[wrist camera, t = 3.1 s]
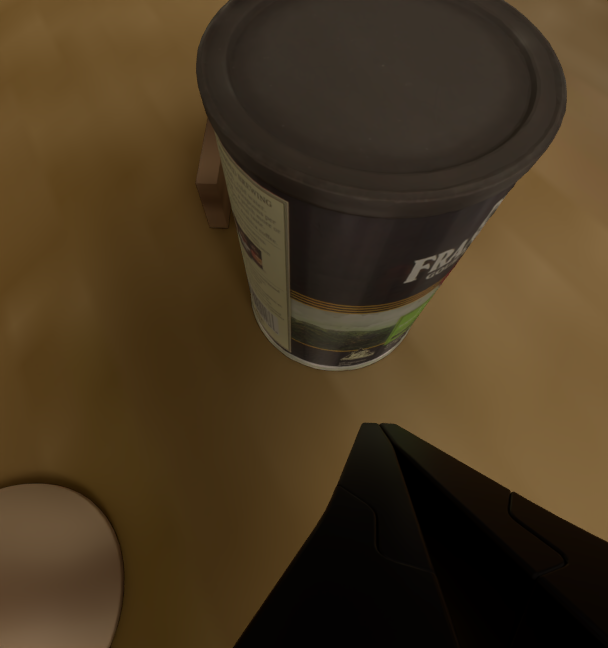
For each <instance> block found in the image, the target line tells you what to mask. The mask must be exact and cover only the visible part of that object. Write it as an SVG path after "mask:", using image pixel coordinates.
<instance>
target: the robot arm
mask: <svg viewBox="0 0 608 648" xmlns="http://www.w3.org/2000/svg"><path fill="white" fill-rule="evenodd" d="M233 648H608V542H607V541H605V540H603V539H601V538H599V537H597V536H595V535H593V534H591V533H589V532H587V531H585V530H583V529H581V528H579V527H577V526H575V525H573V524H572V523H570V522H568V521H566V520H564V519H562V518H560V517H558V516H556V515H554V514H553V513H551V512H549V511H547V510H545V509H544V508H542V507H540V506H538V505H536V504H535V503H533V502H531V501H529V500H527V499H526V498H524V497H522V496H521V495H519V494H517V493H515V492H511V491H510V490H509V489H507V488H505V487H504V486H502V485H500V484H499V483H497V482H495V481H493V480H492V479H490V478H488V477H486V476H485V475H483V474H481V473H479V472H478V471H476V470H474V469H472V468H471V467H469V466H467V465H466V464H464V463H462V462H460V461H459V460H457V459H455V458H453V457H452V456H450V455H448V454H446V453H445V452H443V451H441V450H440V449H438V448H436V447H434V446H433V445H431V444H429V443H427V442H426V441H424V440H422V439H420V438H419V437H417V436H415V435H414V434H412V433H410V432H408V431H407V430H405V429H403V428H401V427H400V426H398V425H396V424H388V423H381V424H377V423H362V425H361V427H360V430H359V432H358V434H357V437H356V439H355V442H354V444H353V447H352V449H351V452H350V454H349V457H348V459H347V462H346V464H345V467H344V469H343V472H342V474H341V476H340V479H339V481H338V484H337V486H336V488H335V490H334V493H333V495H332V497H331V500H330V502H329V504H328V506H327V508H326V510H325V512H324V513H323V515H322V517H321V518H320V520H319V522H318V523H317V525H316V527H315V528H314V530H313V531H312V532H311V534H310V535H309V537H308V538H307V540H306V541H305V543H304V544H303V546H302V547H301V549H300V550H299V551H298V553H297V554H296V556H295V557H294V559H293V560H292V562H291V563H290V565H289V566H288V568H287V569H286V571H285V572H284V573H283V575H282V576H281V578H280V579H279V581H278V582H277V584H276V585H275V587H274V588H273V590H272V591H271V593H270V594H269V595H268V597H267V598H266V600H265V601H264V603H263V604H262V606H261V607H260V609H259V610H258V612H257V613H256V614H255V616H254V617H253V619H252V620H251V622H250V623H249V625H248V626H247V628H246V629H245V631H244V632H243V634H242V635H241V636H240V638H239V639H238V641H237V642H236V644H235V645H234V647H233Z"/></svg>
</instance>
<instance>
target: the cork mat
mask: <svg viewBox="0 0 608 648" xmlns="http://www.w3.org/2000/svg"><path fill="white" fill-rule="evenodd" d="M123 595H124V567H123V558H122V554H121V549H120V545H119V542H118V539H117V537H116V534H115V531H114V529H113V528H112V526H111V524H110V522H109V520H108V519H107V517H106V516H105V515H104V514H103V512H102V511H101V510H100V508H98V507H97V506H96V505H95V504H94V503H93V502H92V501H91V500H90V499H88V498H87V497H85V496H83V495H82V494H80V493H78V492H76V491H74V490H72V489H69V488H66V487H62V486H59V485H53V484H21V485H15V486H9V487H6V488H2V489H0V648H110V646H111V644H112V641H113V638H114V635H115V632H116V629H117V626H118V622H119V618H120V614H121V609H122V602H123Z"/></svg>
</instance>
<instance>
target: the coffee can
mask: <svg viewBox="0 0 608 648" xmlns="http://www.w3.org/2000/svg"><path fill="white" fill-rule="evenodd" d="M196 74H197V82H198V88H199V91H200V94H201V98H202V101H203V105H204V108H205V111H206V114H207V116H208V119H209V121H210V123H211V125H212V127H213V129H214V131H215V136H216V141H217V145H218V150H219V154H220V159H221V163H222V167H223V172H224V176H225V181H226V185H227V190H228V194H229V198H230V203H231V207H232V212H233V216H234V220H235V225H236V229H237V233H238V238H239V242H240V247H241V251H242V256H243V260H244V265H245V269H246V274H247V278H248V283H249V287H250V292H251V301H252V308H253V311H254V315H255V318H256V320H257V322H258V324H259V326H260V328H261V330H262V331H263V333H264V334H265V336H266V337H267V338H268V340H269V341H270V342H271V343H272V344H273V345H274V346H275V347H276V348H277V349H278V350H279V351H281V352H282V353H283V354H285V355H286V356H287V357H289V358H291V359H292V360H295V361H297V362H299V363H301V364H303V365H306V366H309V367H313V368H316V369H321V370H330V371H344V370H354V369H358V368H362V367H365V366H368V365H370V364H373V363H375V362H377V361H379V360H380V359H382V358H384V357H385V356H387V355H388V354H389V353H391V352H392V351H393V350H394V349H395V348H396V347H397V346H398V345H399V344H400V343H401V341H402V340H403V339H404V338H405V336H406V335H407V333H408V331H409V329H410V327H411V325H412V324H413V322H414V321H415V320H416V318H417V317H418V315H419V314H420V313H421V311H422V310H423V309H424V307H425V306H426V304H427V303H428V302H429V300H430V299H431V298H432V296H433V295H434V293H435V292H436V291H437V289H438V288H439V287H440V285H441V284H442V282H443V281H444V280H445V279H446V277H447V276H448V275H449V273H450V272H451V271H452V269H453V268H454V267H455V265H456V264H457V262H458V261H459V260H460V258H461V257H462V255H463V254H464V252H465V251H466V250H467V248H468V247H469V245H470V244H471V242H472V241H473V240H474V239H475V237H476V236H477V235H478V233H479V232H480V230H481V229H482V228H483V226H484V225H485V223H486V222H487V221H488V219H489V218H490V217H491V216H492V215H493V213H494V212H495V211H496V209H497V207H498V206H499V205H500V203H501V202H502V200H503V199H504V198H505V196H506V195H507V193H508V192H509V191H510V190H511V189H512V188H513V187H514V185H515V183H516V182H517V181H518V180H519V179H520V178H521V177H522V176H523V175H524V174H526V173H527V172H528V171H529V170H530V168H531V167H532V166H533V165H534V164H535V163H536V161H537V160H538V159H539V158H540V157H541V156H542V154H543V153H544V152H545V151H546V150H547V148H548V147H549V145H550V144H551V142H552V141H553V139H554V137H555V136H556V134H557V132H558V130H559V128H560V126H561V123H562V119H563V117H564V114H565V111H566V102H567V90H566V80H565V76H564V73H563V69H562V67H561V64H560V62H559V60H558V58H557V56H556V54H555V52H554V50H553V48H552V47H551V45H550V43H549V42H548V41H547V39H546V38H545V37H544V36H543V35H542V33H541V32H540V31H539V30H538V29H537V28H536V27H535V26H534V25H533V24H532V23H531V22H530V21H529V20H528V19H527V18H526V17H525V16H524V15H523V14H521V13H520V12H519V11H518V10H517V9H515V8H514V7H513V6H511V5H510V4H508V3H507V2H505V1H504V0H229V1H228V2H227V3H226V4H225V5H224V6H223V7H222V8H221V9H220V10H219V11H218V12H217V14H216V15H215V16H214V17H213V19H212V20H211V22H210V23H209V25H208V26H207V28H206V30H205V32H204V34H203V36H202V38H201V41H200V44H199V47H198V52H197V62H196Z"/></svg>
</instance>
